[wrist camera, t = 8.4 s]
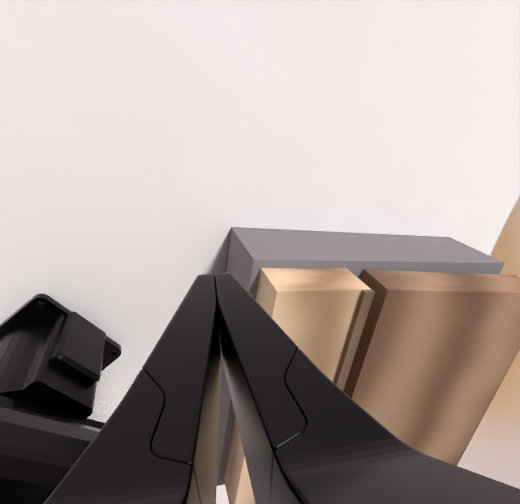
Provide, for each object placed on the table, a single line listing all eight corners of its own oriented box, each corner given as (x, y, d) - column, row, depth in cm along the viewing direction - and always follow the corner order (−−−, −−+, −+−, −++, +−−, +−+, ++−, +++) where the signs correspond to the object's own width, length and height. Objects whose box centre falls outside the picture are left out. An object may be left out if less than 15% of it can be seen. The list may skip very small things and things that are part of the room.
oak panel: (224, 479, 25) (233, 521, 22) (260, 268, 18) (279, 294, 16) (292, 465, 27) (307, 502, 24) (346, 268, 20) (374, 292, 18)
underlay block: (205, 427, 29) (216, 485, 25) (231, 227, 22) (253, 259, 18) (387, 399, 36) (421, 441, 31) (449, 237, 29) (504, 263, 25)
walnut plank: (306, 463, 27) (318, 496, 25) (364, 269, 21) (388, 289, 18) (431, 446, 30) (452, 474, 28) (514, 275, 24) (549, 293, 22)
